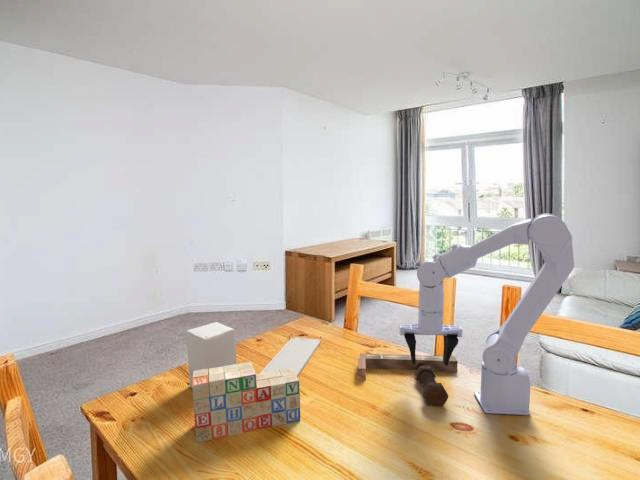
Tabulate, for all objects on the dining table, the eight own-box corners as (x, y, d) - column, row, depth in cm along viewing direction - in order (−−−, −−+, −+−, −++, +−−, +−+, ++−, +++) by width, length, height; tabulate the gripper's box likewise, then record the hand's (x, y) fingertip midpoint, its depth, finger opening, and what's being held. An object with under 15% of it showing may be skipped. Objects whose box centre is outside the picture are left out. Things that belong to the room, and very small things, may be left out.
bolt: (424, 381, 98) (439, 412, 83) (407, 372, 98) (419, 401, 83) (435, 363, 97) (452, 391, 82) (418, 353, 97) (432, 380, 82)
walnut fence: (454, 366, 101) (454, 355, 101) (463, 383, 92) (463, 371, 92) (358, 363, 104) (358, 353, 104) (358, 379, 95) (357, 368, 95)
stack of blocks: (294, 405, 84) (292, 354, 82) (300, 421, 78) (299, 367, 76) (196, 424, 78) (192, 369, 76) (195, 443, 72) (191, 384, 70)
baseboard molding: (243, 388, 93) (288, 394, 90) (243, 377, 93) (287, 383, 89) (286, 340, 123) (321, 344, 119) (286, 332, 122) (321, 335, 119)
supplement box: (239, 385, 93) (236, 328, 91) (207, 400, 87) (203, 339, 85) (220, 373, 99) (217, 320, 98) (188, 386, 93) (185, 330, 91)
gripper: (457, 305, 91) (455, 356, 93) (398, 303, 93) (397, 354, 94) (465, 314, 84) (463, 370, 86) (401, 312, 86) (400, 367, 87)
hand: (429, 363), depth 90 cm, fingers open, 7 cm apart
